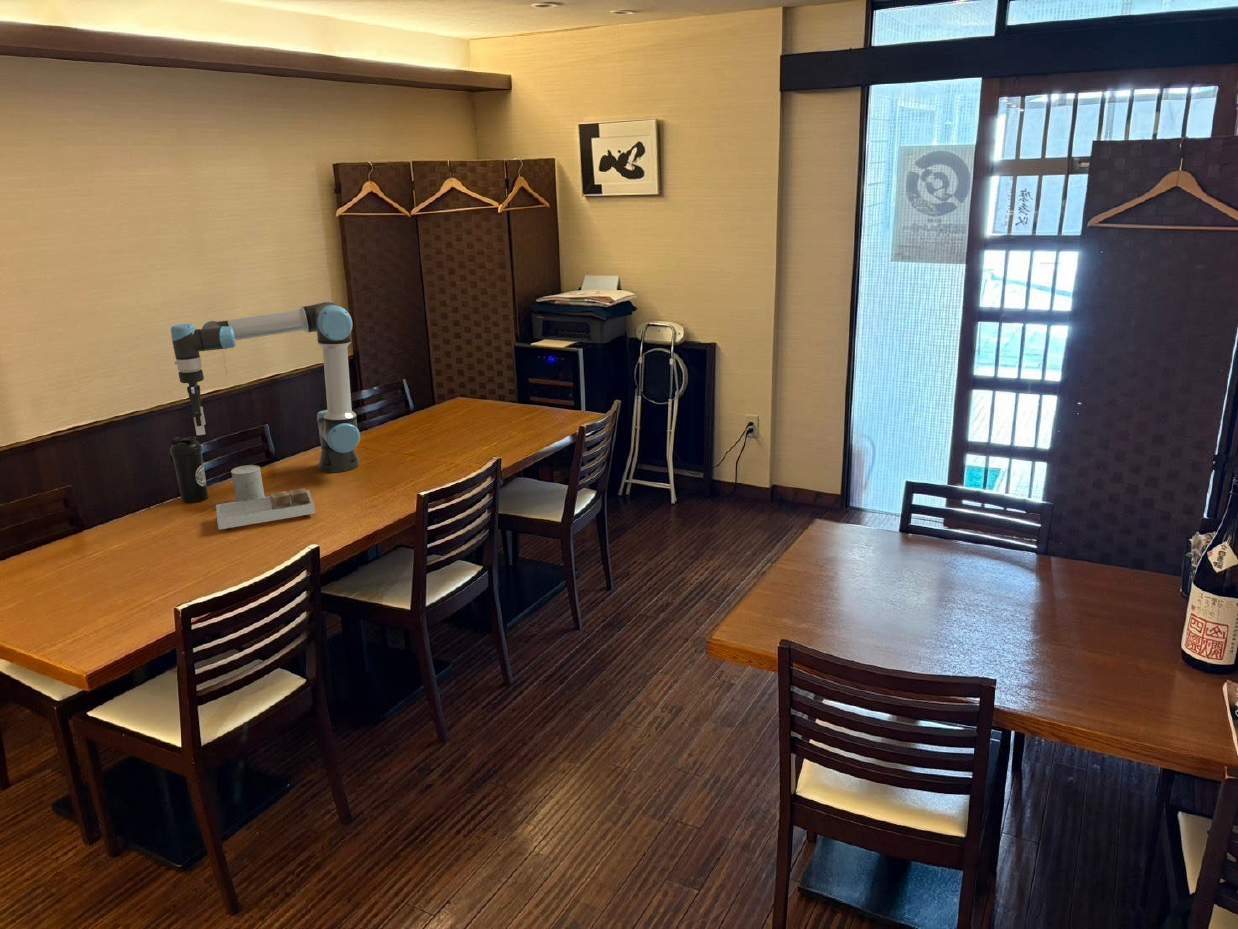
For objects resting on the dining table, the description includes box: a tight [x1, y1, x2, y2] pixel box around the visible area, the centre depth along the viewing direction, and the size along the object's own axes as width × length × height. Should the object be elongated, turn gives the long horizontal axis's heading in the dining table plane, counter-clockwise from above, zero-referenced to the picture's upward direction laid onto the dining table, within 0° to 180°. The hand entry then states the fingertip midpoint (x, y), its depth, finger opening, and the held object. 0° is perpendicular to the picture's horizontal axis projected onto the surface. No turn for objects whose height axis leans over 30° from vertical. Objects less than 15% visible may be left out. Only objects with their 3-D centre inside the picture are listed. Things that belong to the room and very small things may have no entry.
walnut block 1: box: [269, 490, 291, 509], centre depth 303 cm, size 5×5×5 cm
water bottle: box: [169, 435, 209, 505], centre depth 318 cm, size 10×10×23 cm
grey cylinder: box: [230, 464, 266, 502], centre depth 316 cm, size 10×10×12 cm
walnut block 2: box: [289, 488, 308, 506], centre depth 305 cm, size 5×5×5 cm
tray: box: [215, 489, 316, 531], centre depth 302 cm, size 30×15×5 cm, turn 114°
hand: (201, 429), depth 314 cm, fingers open, 13 cm apart
